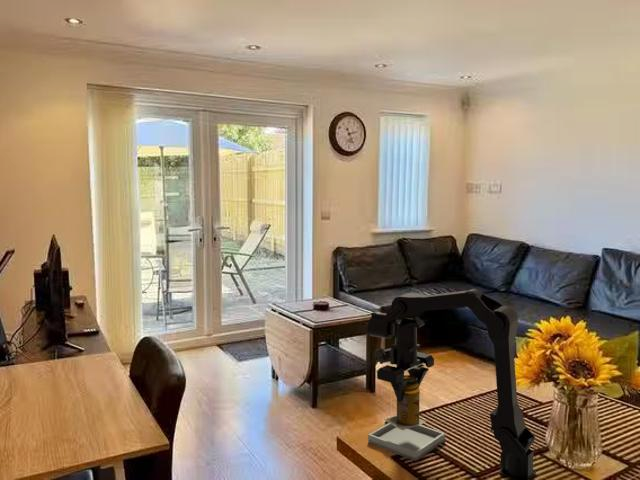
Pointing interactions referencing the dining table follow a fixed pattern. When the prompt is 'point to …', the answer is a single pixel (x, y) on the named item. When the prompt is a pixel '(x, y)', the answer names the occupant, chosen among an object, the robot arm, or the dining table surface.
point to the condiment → (408, 406)
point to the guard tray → (407, 440)
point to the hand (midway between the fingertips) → (406, 397)
